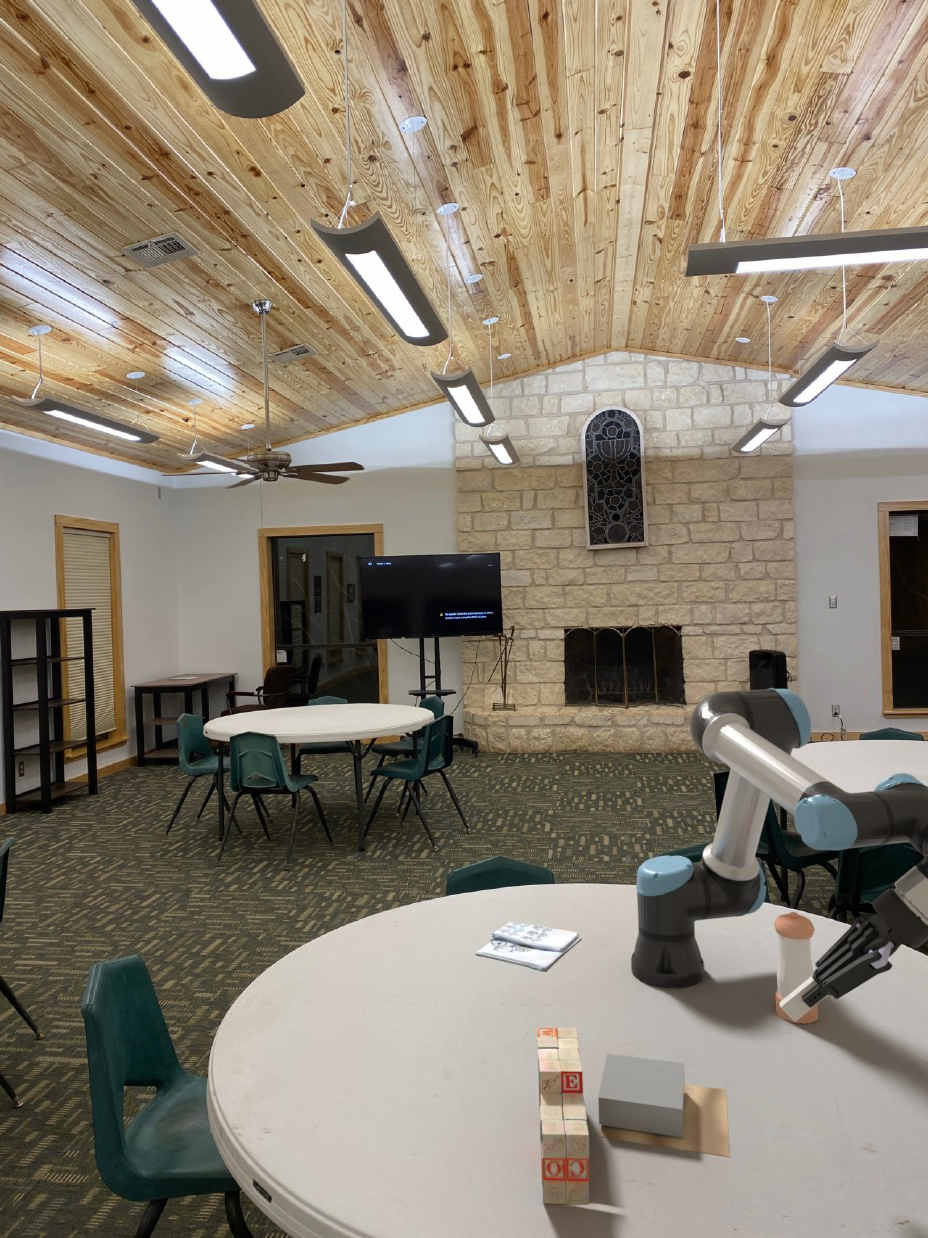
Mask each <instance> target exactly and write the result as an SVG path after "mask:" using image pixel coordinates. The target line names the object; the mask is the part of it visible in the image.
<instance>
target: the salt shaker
mask: <svg viewBox="0 0 928 1238" xmlns="http://www.w3.org/2000/svg"><path fill="white" fill-rule="evenodd" d="M773 926H774V928H775V931H776V933H777V934H778V939H779V940H778V947H779V948H778V949H779V951H778V953H779V956H778V962H777V971H776V982H777V983H776V986H777V990H776V992H775V1012H776V1014H777V1015H778V1016H779V1018H781V1019H783V1020H785V1019H786V1020H785V1021H787V1020H788V1022H791V1023H794V1021H793V1020H792V1019H791V1018H790V1017H789V1016H788V1015H787V1014H786V1013H785V1012H784V1011H783V1010H782V1009H781V1008H780V1003H779V1002H781V1001H782V1000H783V999H784V998H786V997H787V996H788V995H789V994H790V993H792V992H793V991H794V990H795V989H796V988H798V987H799V986H800V985H801V984H803V983H804V982H805V981H806V980H807V979H809V978H810V977H811V976H812V975H813V974H814V967H813V962H812V953H811V952H812V951H811V950H812V949H811V938H812V937H813V935H814V933H815V931H816V930H815V926H814V923H813V922H812V921H811V919H809V918H808V917H806V916H804V915H802V914H798V912H796V911H790V912H789V913H784V914H781V915H778V916H777V918H776V919H775V920H774V922H773ZM818 1004H819V1003H818ZM818 1004H817V1005H816V1006H814V1007H813V1008H812V1009H811V1010H810V1011H808V1012H807V1013H806V1014H805V1015H803V1016H802V1017H801V1018H800V1019H798V1020H797V1021H796V1022H795V1024H800V1023H802V1025H803V1024H804V1025H806V1024H807V1023H808V1024H811V1023H812V1022H813V1023H815V1022H817V1020H818V1019H819V1010H818ZM813 1023H812V1024H813Z"/></svg>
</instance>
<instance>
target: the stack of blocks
mask: <svg viewBox="0 0 928 1238" xmlns="http://www.w3.org/2000/svg"><path fill="white" fill-rule="evenodd" d="M536 1034H537V1035H536V1037H537V1038H536V1042H537V1063H538V1064H537V1065H538V1066H537V1067H538V1070H537V1071H538V1072H537V1073H538V1075H537V1076H538V1102H539V1103H538V1105H539V1106H538V1107H539V1138H540V1139H539V1141H540V1149H541V1150H540V1158H541V1159H540V1160H541V1162H540V1163H541V1166H540V1167H541V1187H542V1203H543V1204H550V1205H580V1206H582V1205H583V1204H587V1205H588V1204H589V1205H590V1182H589V1181H590V1160H589V1158H590V1135H589V1126H588V1121H587V1120H588V1119H587V1118H588V1117H587V1112H586V1110H587V1109H586V1104H585V1099H584V1083H583V1082H584V1080H583V1069H582V1062H581V1060H580V1047H579V1046H580V1045H579V1040H578V1039H579V1037H578V1029H577V1028H576V1027H537V1028H536ZM587 1205H586V1206H587Z"/></svg>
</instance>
